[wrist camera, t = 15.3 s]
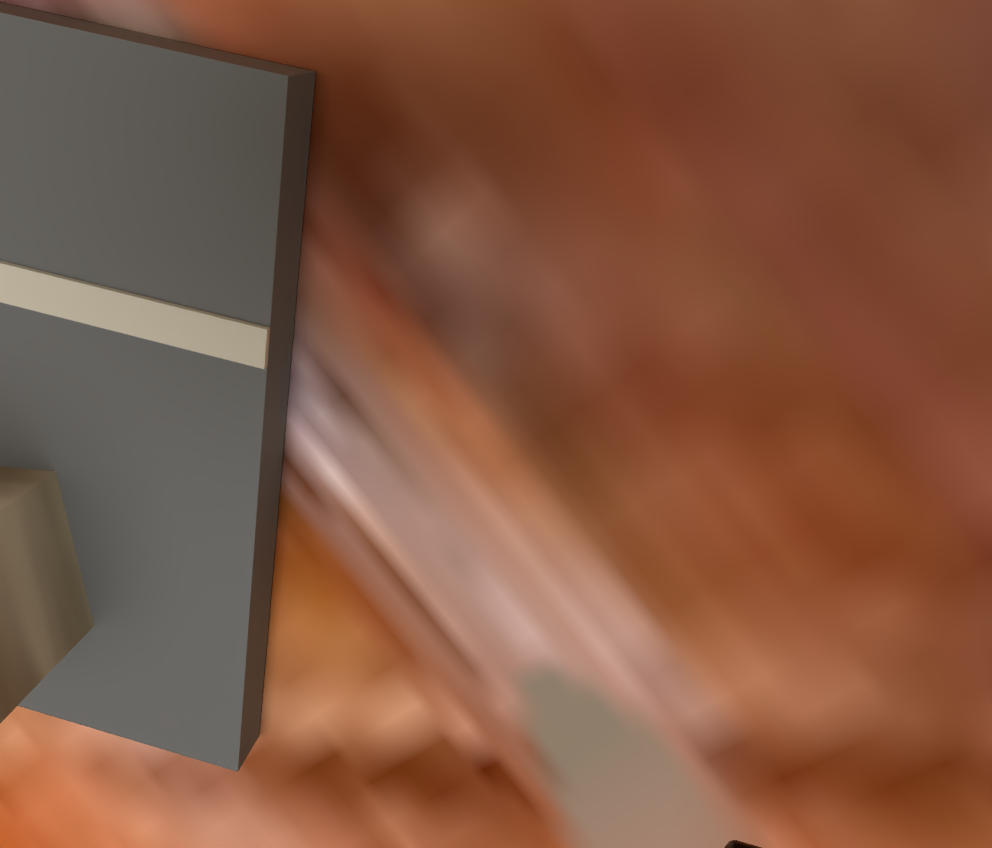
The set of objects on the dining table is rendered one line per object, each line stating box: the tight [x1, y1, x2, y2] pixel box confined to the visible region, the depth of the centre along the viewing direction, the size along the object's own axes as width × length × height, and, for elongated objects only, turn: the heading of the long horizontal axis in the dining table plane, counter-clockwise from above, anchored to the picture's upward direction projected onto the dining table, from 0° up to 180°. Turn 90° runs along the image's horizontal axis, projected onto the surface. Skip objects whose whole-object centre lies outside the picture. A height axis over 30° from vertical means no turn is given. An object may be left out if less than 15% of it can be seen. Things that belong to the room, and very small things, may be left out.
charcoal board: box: [0, 2, 316, 772], centre depth 24 cm, size 13×20×2 cm, turn 170°
